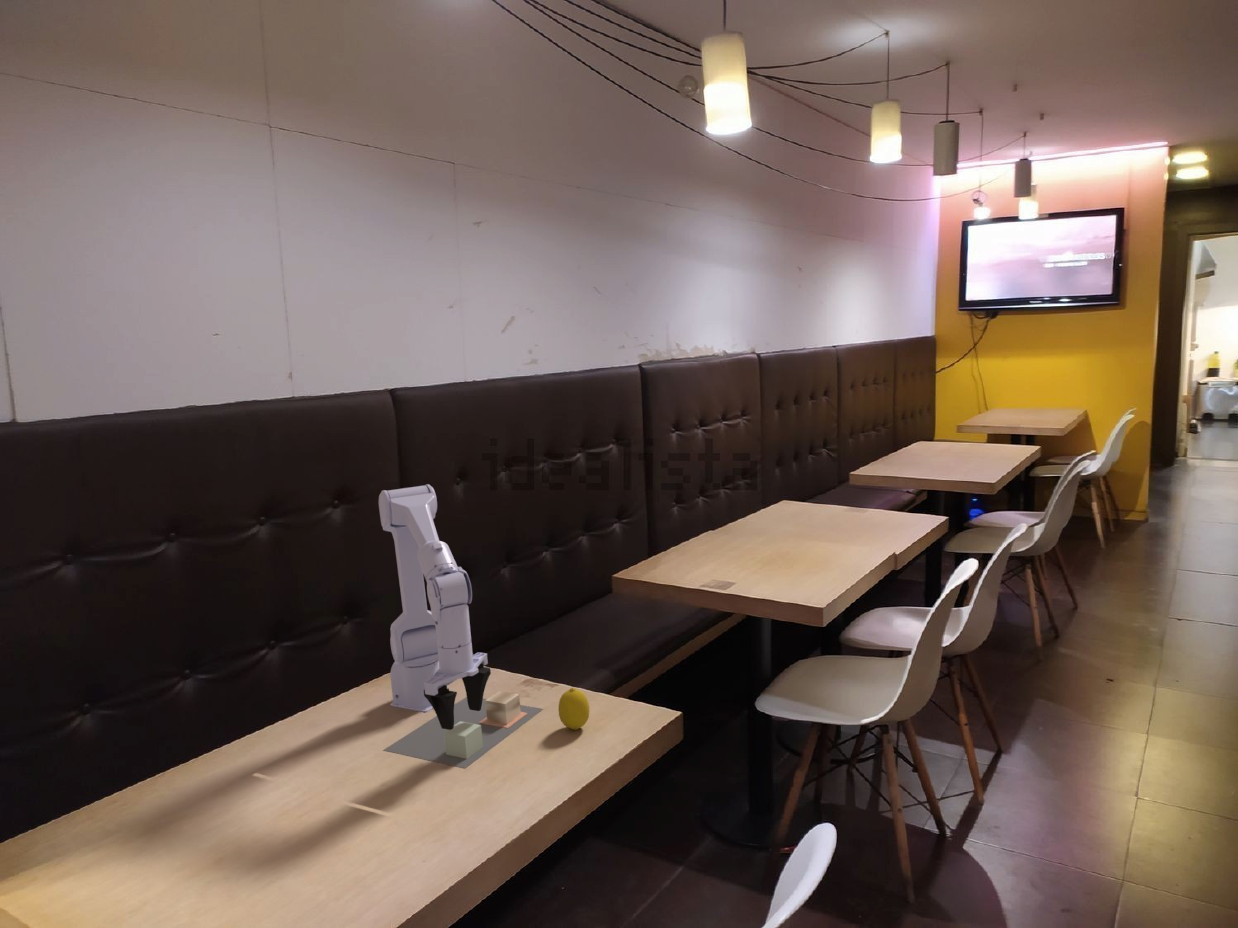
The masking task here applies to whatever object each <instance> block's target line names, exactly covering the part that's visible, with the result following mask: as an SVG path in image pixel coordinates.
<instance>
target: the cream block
mask: <svg viewBox="0 0 1238 928" xmlns="http://www.w3.org/2000/svg"><path fill="white" fill-rule="evenodd" d="M486 699H487V700H485V703H486V714H487V721H490V722H495V723H501V724H506V725H507V724H509V723H510V722H511V721H513V720H514V719H515V718H517V717H518V716H520V715H521V710H520V705H521V699H520V694H519V693H512V692H508V691H501V690H499V691H497V692H496V693H495V694H493V695H491V696H490V697H488V698H486Z"/></svg>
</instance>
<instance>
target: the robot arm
mask: <svg viewBox="0 0 1238 928" xmlns="http://www.w3.org/2000/svg"><path fill="white" fill-rule="evenodd" d="M378 510H379V517H380V523H381V524H380V525H381V527H382V530H383V531H385V532H389V533H391V534H392V538H393V542H394V549H395V558H396V565H397V567H396V568H397V575H398V581H399V582H398V583H399V588H400V589H399V590H400V597H401V606H402V613H400V614H399V616H397V618H396V619H395V620H393V622H392V623H391V624H390V639H389V641H390V643H389V644H390V649H391V650H390V651H391V654H392V657H393V660H394V662H393V664H391V665H392V666H391V668H390V676H389V677H390V685H391V694H392V695H391V696H392V702H391V703H390V704H389V705H390V707H391V706H392V707H395V708H400V709H405V710H412V711H416V712H422V713H428V712H430V711H432V710H434V712H435V714H436V716H437V717H438V720H439V722H440V725H441V728H442V729H448V730H452V729H453V728H454V705H455V704H456V697H457V694H458V691H453V690H450V688H448V686H449V685H451V684H453V683H454V682H456V681H457V680H459V679H460V680H462V682H463V685H464V689H465V695H466V697H467V702H468V706H469V709H470V710H475V711H480V710H481V707H482V700H483V699H484V695H485V689H486V685H487V683H488V680H489V677H490V676H491V674H492V673H491V668H490V667H487V666H486V665H488V664H489V662H488V653H485V652H476V653H475V654H474V653H473V644H472V635H471V624H470V611H469V605H468V604H471V603H472V600H473V589H472V588H473V587H472V583H471V580H470V577H469V574H468V573H467V571H466V570H464V569H463V568H462V566H458V565H457V562H456V560H455V559H454V558H455V557H454V556H453V554H452V551H451V549H450V547H449V545H448V543H446V542H444V541H441V540H440V538H439V535H438V532H437V529H436V526H435V522H434V519H435V518H436V513H437V511H438V501H437V495H436V492H435V489H434V487H433V486H431V485H430V484H429V483H428V484H425V485H419V486H418V485H417V486H412V487H403V488H398V489H391V490H390V489H389V490H385V489H383V490H381V492H380V494H379V496H378ZM424 580H425V581H426V589H425V581H424ZM426 591H427V592H426ZM426 593H427V597H426ZM427 599H428V603H429V606H430V610H428V604H427Z"/></svg>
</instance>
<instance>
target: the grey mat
mask: <svg viewBox="0 0 1238 928" xmlns="http://www.w3.org/2000/svg"><path fill="white" fill-rule="evenodd" d="M487 699H488V698H483V700H482V707H481V710H480V711H475V710H470V709H469V706H468V702H467V696H465V698H462V699H461V700H459V701H458V702H455V703H454V725H455V724H457V723H458V722H460V721H462V722H467V723H472V724H478V725H481V730H482V741H483V747H482V748H481V749H480V750H478V751H477V752H475V753H474V754H473V755H471V756H470V757H469V758H467V759H465V758H461V757H456V756H452V755H447V754H446V749H445V739H444V732H445V731H447V730H448V729H442V728H441V725H440V722H439V720H438V717H437V715H436V716H434V717H432V718H431V719H429V720H427V722H425V723H424V724H422V725H420V726H418V727H417V728H416V729H415V728H414V730H412V731H411V732H409V733H407V734H406V735H404V736H403V737H402V738H400V739H398V740H397V741H395V742H393V744H391V745H389V746H387V747H386V748H385V749H383V752H384V751H385V752H389V753H394V754H399V755H403V756H407V757H412V758H416V759H421V760H425V761H429V762H433V763H438V764H443V765H447V766H451V767H457V768H461V769H467V768H468V767H469V766H470V765H472V764H473V763H475V762H476V761H477V760H479V759H480V758H481V757H482V756H484V755H485V754H486V753H488V752H489V751H490V750H492V749H493V748H494V747H495V746H497V745H498V744H500V743H501V742H502V741H504V740H505V739H506V738H507V737H509V736H510V735H512V734H513V733H514V732H515V731H517V730H518V729H520V728H521V727H522V726H523V725H525V724H526V723H528V722H529V721H530V720H531V719H533V718H534V717H536V716H537V715H538V714H539V713H540V712H542V711H543V710H544V708H542V707H540V708H539V707H536V706H535V707H534V706H529V705H523V704H520V710H521V715H520V716H518V717H517V718H515V719H514V720H513V721H511V722H510V723H509V724H507V725H506V724H501V723H495V722H490V721H487V714H486V703H485V700H487Z"/></svg>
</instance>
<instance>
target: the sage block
mask: <svg viewBox="0 0 1238 928" xmlns="http://www.w3.org/2000/svg"><path fill="white" fill-rule="evenodd" d="M444 739H445V749H446V754H447V755H452V756H456V757H461V758H465V759H467V758H469V757H470V756H471V755H473V754H474V753H475V752H477V751H478V750H480V749H481V748H482V747H483V741H482V730H481V725H478V724H472V723H467V722H462V721H460V722H458V723H457V724H455V725H454V728H453V729H452V730H447V731H445V732H444Z"/></svg>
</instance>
